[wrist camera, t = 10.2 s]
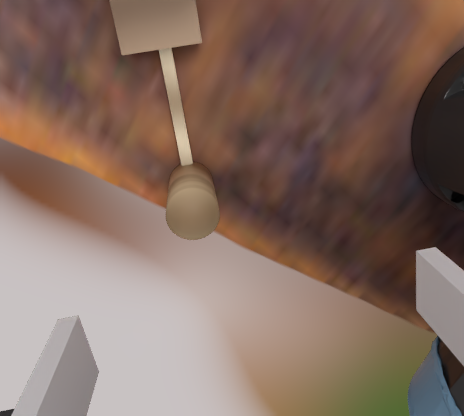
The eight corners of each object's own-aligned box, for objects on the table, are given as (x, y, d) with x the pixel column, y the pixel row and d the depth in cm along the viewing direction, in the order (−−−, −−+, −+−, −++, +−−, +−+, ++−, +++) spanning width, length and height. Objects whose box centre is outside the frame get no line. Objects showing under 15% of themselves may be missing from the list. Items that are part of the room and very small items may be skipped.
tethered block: (224, 197, 35) (233, 233, 29) (165, 208, 35) (161, 245, 29) (186, -36, 29) (187, -57, 22) (114, -25, 29) (93, -44, 22)
